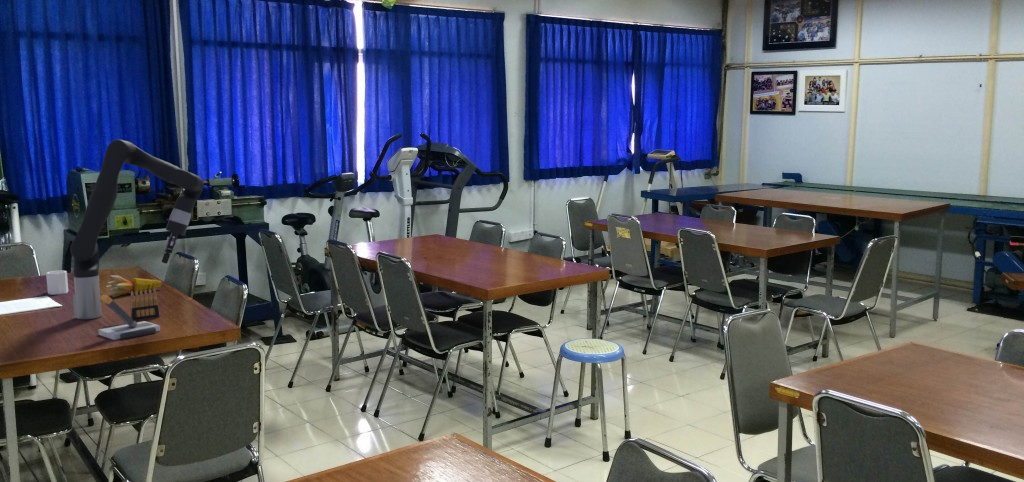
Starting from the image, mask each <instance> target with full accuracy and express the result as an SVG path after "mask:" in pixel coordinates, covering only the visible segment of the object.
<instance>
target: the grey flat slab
mask: <svg viewBox="0 0 1024 482" xmlns="http://www.w3.org/2000/svg"><path fill="white" fill-rule="evenodd" d="M136 322H137V321H136ZM152 327H155V329H156V332H160V331H161V325H159V324H155V323H152V322H149V321H145V320H142V321H138V322H137V326H136V327H131V326H128V325H127V324H126V325H121V326H115V327H110V328H104V329H102V328H99V329H98V335H99V336H101V337H105V338H107V339H110V340H113V341H115V340H120V339H121V337H120V335H121V334H122V333H126V332H131V331H137V330H142V329H147V328H152Z"/></svg>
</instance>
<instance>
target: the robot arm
mask: <svg viewBox="0 0 1024 482" xmlns="http://www.w3.org/2000/svg"><path fill="white" fill-rule="evenodd" d="M124 164H129V165H131V166H136V167H139V168H141V169H144V170H146V171H147V172H149V173H150V174H152V175H153V176H155V177H157V178H158V179H161V180H163V181H166V182H168V183H171V184H174V185H176V186H178V187H179V188H181V189H184V190H183V191H182V194H181V195H179V196H178V197H177V198H176V202H175V203H174V207H173V209H172V211H171V214H170V215H169V218H168V220H167V221H168V222H167V224H166V226H165V230H166V231H167V232H170V235H168V236H167V238H166V243H165V245H164V246H165V248H164V253H163V256H162V258H161V262H162V263H164V264H168V263H169V260H170V256H171V255H172V253H173V250H175V247H176V245H177V244H178V242H179V238H178V235H180V236H185V235H186V233H187V229H188V226H189V224H190V221H191V217H192V213H193V210H194V207H195V204H196V203H197V201H198V199H199V198H200V196H201V194H202V192H203V190H204V184H205V183H204V180H203V178H202V177H201V176H199V175H197V174H194V173H192V172H191V171H190V172H189V171H188V170H185V169H182V168H180V167H179V166H177V165H174V164H172V163H171V162H168V161H165V160H163V159H160V158H157V156H156V157H155V156H153V155H152V154H149V153H147V152H146V151H144V150H143V149H141V148H139V147H138V146H137V145H135V144H134V143H132V142H130V141H128V140H123V139H119V138H118V139H117V138H116V139H114V140H112V141H110V142H109V144H108V145H107V147H106V150H105V154H104V157H103V161H102V165H101V168H100V171H99V174H98V176H97V179H96V181H95V184H94V186H93V189H92V191H91V193H90V195H89V198H88V202H87V205H86V207H85V211H84V215H83V219H82V220H81V221H82V222H81V224H80V227H79V229H78V230H77V233H76V235H75V237H74V238H73V240H72V242H71V244H70V249H69V250H70V251H69V252H70V254H71V256H72V258H73V261H74V262H73V263H74V264H73V273H72V274H73V281H74V294H73V295H72V300H73V313H74V319H78V320H93V319H98V318H102V316H103V315H102V300H100V299H99V298H100V297H101V289H100V287H101V286H100V275H99V273H100V272H99V271H100V270H99V268H100V259H99V247H98V246H99V245H98V243H97V242H98V239H99V236H100V235H99V234H100V232H101V231H102V228H103V227H104V225H105V223H106V222H107V220H108V218H109V216H110V214H111V213H112V210H113V209H114V205H115V202H116V200H117V198H118V197H117V196H118V179H119V174H120V171H121V169H122V168H123V167H122V166H123V165H124Z"/></svg>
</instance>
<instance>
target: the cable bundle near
mask: <svg viewBox="0 0 1024 482" xmlns="http://www.w3.org/2000/svg"><path fill="white" fill-rule="evenodd" d="M156 332H157V331H156V329H155V327H152V328H147V329H142V330H137V331H131V332H126V333H122V334H121V335H120V337H121V339H122V340H127V339H131V338H135V337H141V336H146V335H151V334H156Z"/></svg>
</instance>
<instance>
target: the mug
mask: <svg viewBox="0 0 1024 482" xmlns="http://www.w3.org/2000/svg"><path fill="white" fill-rule="evenodd" d="M45 274H46V275H45V276H46V287H47V295H54V296H56V295H62V294H68V293H69V284H68V283H69V282H68V271H67V270H63V269H62V270H52V271H51V270H50V271H47V272H46V273H45Z"/></svg>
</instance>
